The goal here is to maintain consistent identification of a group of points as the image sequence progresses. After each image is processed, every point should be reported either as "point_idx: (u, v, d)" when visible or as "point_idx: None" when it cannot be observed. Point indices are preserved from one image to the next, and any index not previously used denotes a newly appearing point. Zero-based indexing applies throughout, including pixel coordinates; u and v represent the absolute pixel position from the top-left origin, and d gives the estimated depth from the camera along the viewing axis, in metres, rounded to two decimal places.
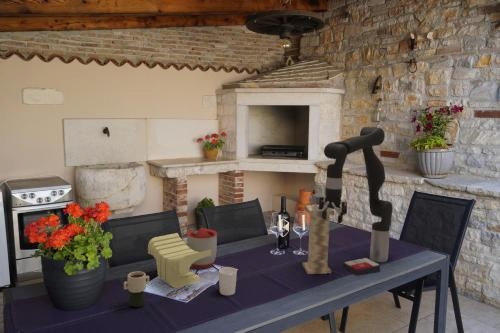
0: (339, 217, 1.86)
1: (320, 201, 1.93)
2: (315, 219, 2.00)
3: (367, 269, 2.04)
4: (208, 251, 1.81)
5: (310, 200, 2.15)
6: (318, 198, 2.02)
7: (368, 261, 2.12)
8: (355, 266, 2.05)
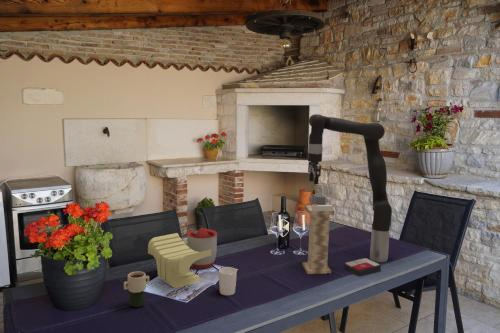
0: None
1: None
2: (315, 219, 2.00)
3: (368, 269, 2.04)
4: (208, 251, 1.81)
5: (310, 200, 2.15)
6: (318, 198, 2.02)
7: (368, 261, 2.11)
8: (357, 267, 2.04)
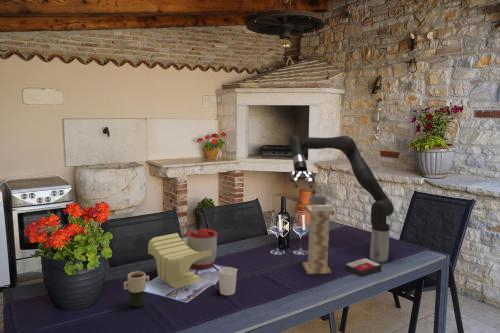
0: (311, 182, 2.34)
1: (291, 173, 2.36)
2: (315, 219, 2.00)
3: (370, 270, 2.03)
4: (208, 251, 1.81)
5: (310, 200, 2.15)
6: (318, 198, 2.02)
7: (368, 261, 2.11)
8: (358, 267, 2.04)
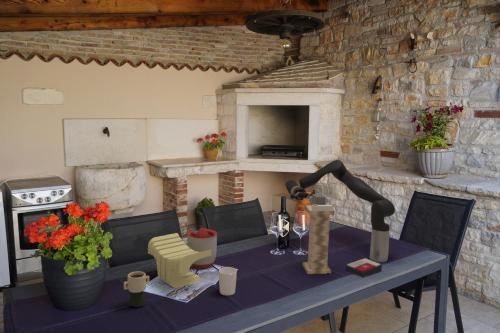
0: None
1: (291, 193, 2.38)
2: (315, 219, 2.00)
3: (371, 270, 2.03)
4: (208, 251, 1.81)
5: (310, 200, 2.15)
6: (318, 198, 2.02)
7: (369, 261, 2.11)
8: (360, 268, 2.03)
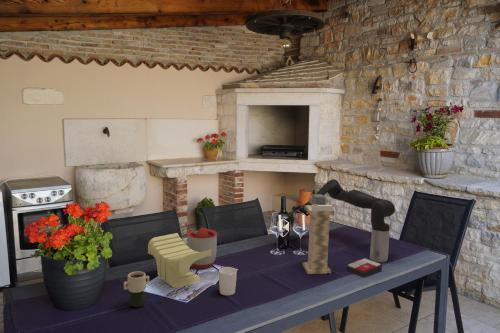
0: None
1: None
2: (315, 219, 2.00)
3: (372, 270, 2.03)
4: (208, 251, 1.81)
5: (310, 200, 2.15)
6: (318, 198, 2.02)
7: (369, 261, 2.11)
8: (360, 268, 2.03)
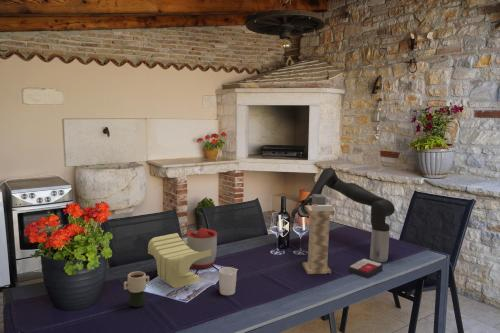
0: None
1: None
2: (315, 219, 2.00)
3: (374, 270, 2.03)
4: (208, 251, 1.81)
5: None
6: (318, 198, 2.01)
7: (369, 262, 2.11)
8: (363, 269, 2.02)
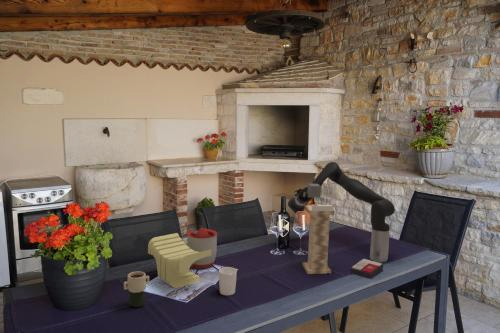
0: None
1: None
2: (315, 219, 2.00)
3: (376, 270, 2.03)
4: (208, 251, 1.81)
5: None
6: (313, 187, 2.09)
7: (370, 262, 2.11)
8: (366, 269, 2.01)
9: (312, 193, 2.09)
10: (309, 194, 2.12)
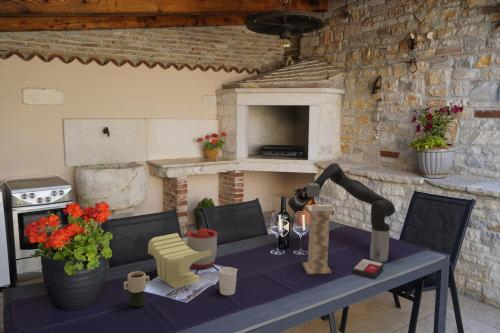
0: None
1: None
2: (315, 219, 2.00)
3: (378, 270, 2.03)
4: (208, 251, 1.81)
5: None
6: (312, 186, 2.12)
7: (370, 262, 2.11)
8: (368, 270, 2.01)
9: (311, 192, 2.12)
10: (308, 193, 2.15)
